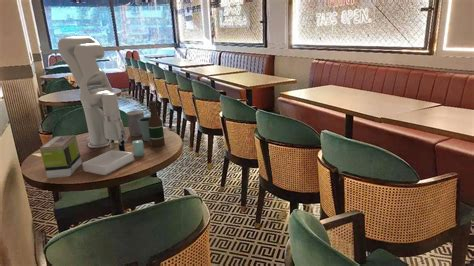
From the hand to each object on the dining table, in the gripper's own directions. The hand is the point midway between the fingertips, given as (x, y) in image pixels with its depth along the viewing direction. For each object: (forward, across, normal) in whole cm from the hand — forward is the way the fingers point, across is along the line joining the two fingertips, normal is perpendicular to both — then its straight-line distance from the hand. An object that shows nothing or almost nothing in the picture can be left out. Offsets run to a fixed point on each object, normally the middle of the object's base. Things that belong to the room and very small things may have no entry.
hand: (118, 150), depth 172 cm
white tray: (0, +10, -16) cm, 19 cm away
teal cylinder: (+1, +14, 0) cm, 14 cm away
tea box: (+1, -6, -27) cm, 28 cm away
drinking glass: (+1, +3, +22) cm, 22 cm away
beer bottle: (+1, +14, +15) cm, 21 cm away
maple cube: (+1, 0, 0) cm, 1 cm away
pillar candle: (+1, -11, +28) cm, 30 cm away
